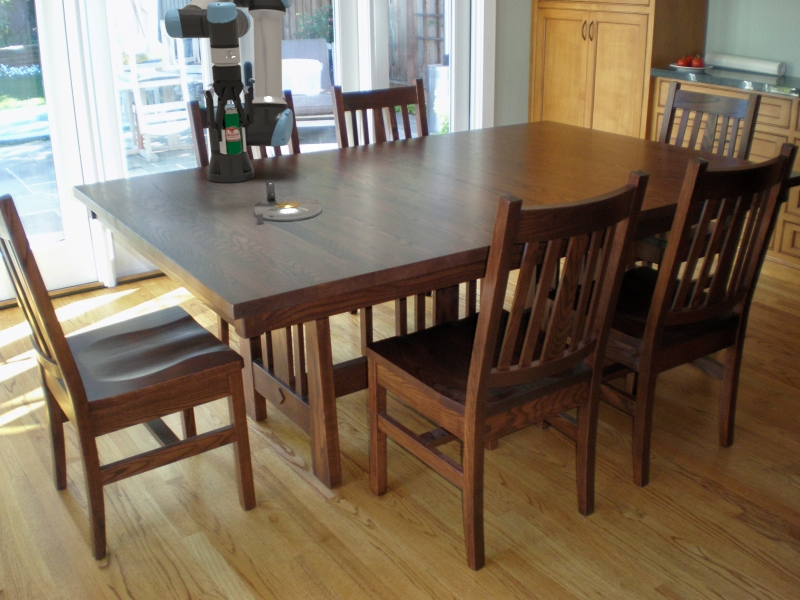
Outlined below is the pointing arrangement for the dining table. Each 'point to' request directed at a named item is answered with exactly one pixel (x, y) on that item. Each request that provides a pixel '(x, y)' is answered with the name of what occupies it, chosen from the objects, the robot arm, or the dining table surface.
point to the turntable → (286, 207)
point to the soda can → (232, 131)
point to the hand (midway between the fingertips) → (233, 151)
